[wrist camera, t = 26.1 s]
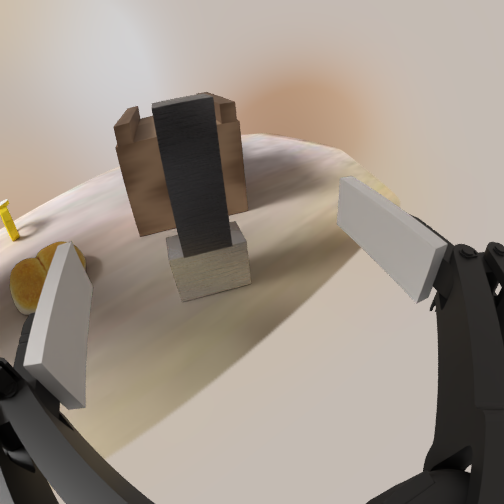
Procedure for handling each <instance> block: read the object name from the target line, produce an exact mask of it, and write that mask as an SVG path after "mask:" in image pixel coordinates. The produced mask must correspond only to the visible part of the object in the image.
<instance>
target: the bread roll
mask: <svg viewBox="0 0 504 504" xmlns="http://www.w3.org/2000/svg"><path fill="white" fill-rule="evenodd" d="M64 243H67V242H56V243H53V244H51V245H49V246H47V247H45V248H43V249H42V250H41V251H40V252H39V253H38V254H37V256H36V258H29V259H25V260H23V261H21V262H19V263H18V264H16V266H15V267H14V268H13V270H12V272H11V276H10V286H9V287H10V291H11V295H12V298H13V301H14V304H15V306H16V307H17V309H18V310H19V312H20V313H22V314H25V315H30V314H31V313H35V312H36V309H37V305H38V302H39V299H40V295H41V292H42V289H43V286H44V283H45V280H46V277H47V274H48V271H49V268H50V265H51V262H52V260H53V257H54V254H55V252H56V249H57V246H58V245H61V244H64ZM74 248H75V250H76V252H77V254H78V257H79V259H80V261H81V263H82V265H83V267H84V269H86V261H85V258H84V256H83V254H82V253H81V251H80V250H79V249H78V248H77V247H76V246H74Z"/></svg>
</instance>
